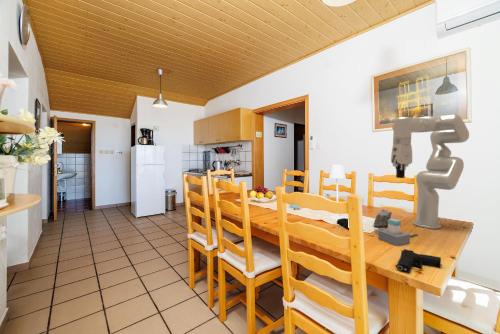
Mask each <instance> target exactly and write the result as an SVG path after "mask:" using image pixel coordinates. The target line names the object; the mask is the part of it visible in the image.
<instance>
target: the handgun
mask: <svg viewBox="0 0 500 334" xmlns="http://www.w3.org/2000/svg"><path fill="white" fill-rule="evenodd" d="M400 250H401V251H400V252H401V254H400V257H399V259H398V261H397V264H395V265H394V266H395V268H396V269H397V270H398V271H400V272H402V273H406V274H409V273H410V272H411V269H412V267H413V268H416V269H419V270H422V269H423V266H427V267H428V266H429V267H433V266H434V268H438V267H439V269H440V268H441V262H442V261H441V260H442V257H440V256H434V255H429V254H423V253H416V252H414V251H413V250H411V249H405V248H404V249H400Z"/></svg>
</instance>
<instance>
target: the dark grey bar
mask: <svg viewBox="0 0 500 334" xmlns="http://www.w3.org/2000/svg"><path fill="white" fill-rule="evenodd" d="M415 237H419V234H417V233H414V234H410V239H411V238H415Z"/></svg>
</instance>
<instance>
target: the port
mask: <svg viewBox="0 0 500 334" xmlns="http://www.w3.org/2000/svg"><path fill="white" fill-rule="evenodd" d="M377 235H378V237H377V238H378V239H379V240H380V241H383V242H386V243H388V244H391V245H392V246H393V245H394V246H396V247H398V246H402V245H406V244H407V245H408V244H410V243H411V238H410V235H411V234H410V233H407V232H403V231H401V230H400V234H398V235H394V234H391V233H389V232H388V228H386V229H385V230H379V234H377Z"/></svg>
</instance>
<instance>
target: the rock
mask: <svg viewBox="0 0 500 334" xmlns="http://www.w3.org/2000/svg"><path fill="white" fill-rule="evenodd" d="M392 213H393V212H391V211H388V210H385V209H382V210H381V211H379V212H377V214H376V217H375V219H374V222H373V227H380V228H385V227H386V226H388V219H392V217H391V216H392Z"/></svg>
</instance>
